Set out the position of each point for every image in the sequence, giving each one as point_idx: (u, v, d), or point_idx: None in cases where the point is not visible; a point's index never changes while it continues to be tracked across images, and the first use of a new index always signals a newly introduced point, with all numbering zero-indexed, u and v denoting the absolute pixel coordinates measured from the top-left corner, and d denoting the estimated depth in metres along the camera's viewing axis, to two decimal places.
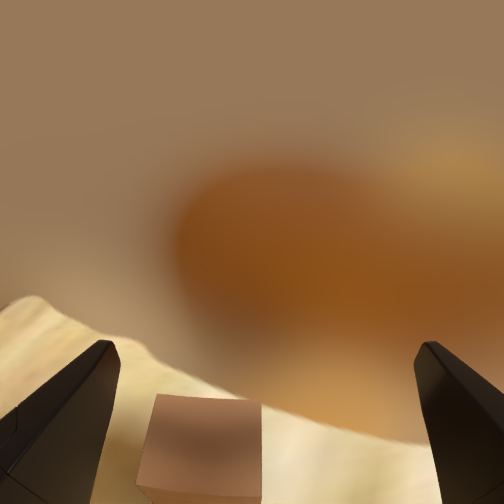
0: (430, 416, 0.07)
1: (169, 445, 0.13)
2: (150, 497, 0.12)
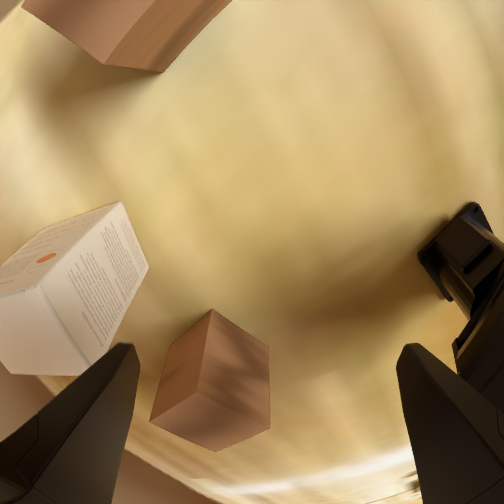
0: (411, 420, 0.07)
1: (81, 7, 0.08)
2: (129, 63, 0.11)
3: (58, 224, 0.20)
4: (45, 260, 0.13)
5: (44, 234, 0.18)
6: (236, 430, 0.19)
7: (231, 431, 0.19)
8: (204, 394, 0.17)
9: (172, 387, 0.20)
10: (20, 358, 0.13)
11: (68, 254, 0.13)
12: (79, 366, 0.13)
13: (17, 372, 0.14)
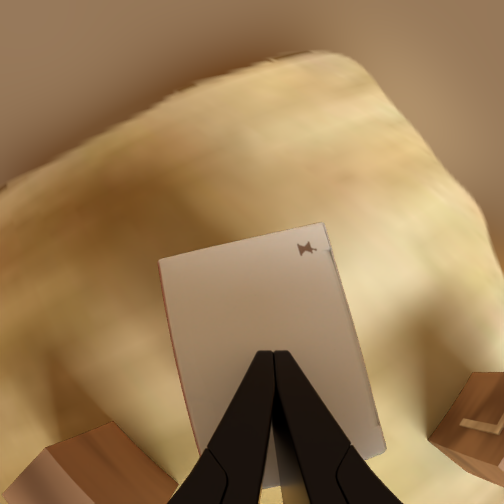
0: (274, 434, 0.07)
1: None
2: (475, 459, 0.11)
3: None
4: None
5: None
6: None
7: None
8: None
9: (103, 479, 0.11)
10: (220, 336, 0.09)
11: None
12: None
13: (169, 289, 0.09)
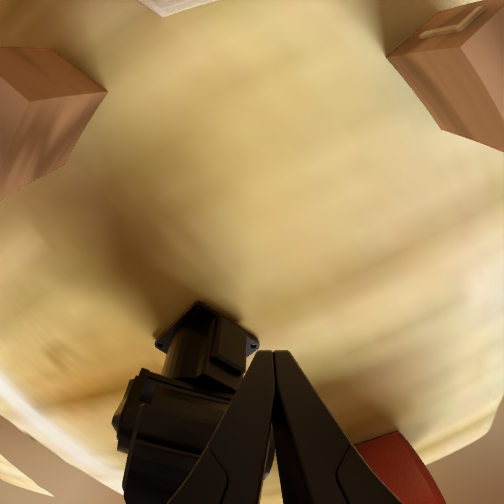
0: (274, 434, 0.07)
1: None
2: (434, 53, 0.10)
3: None
4: None
5: None
6: None
7: None
8: (26, 112, 0.10)
9: (17, 66, 0.10)
10: None
11: None
12: None
13: None
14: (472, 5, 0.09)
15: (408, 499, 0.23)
